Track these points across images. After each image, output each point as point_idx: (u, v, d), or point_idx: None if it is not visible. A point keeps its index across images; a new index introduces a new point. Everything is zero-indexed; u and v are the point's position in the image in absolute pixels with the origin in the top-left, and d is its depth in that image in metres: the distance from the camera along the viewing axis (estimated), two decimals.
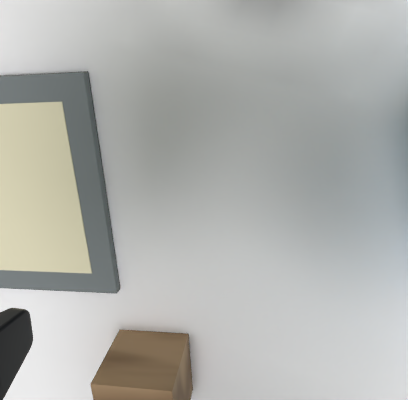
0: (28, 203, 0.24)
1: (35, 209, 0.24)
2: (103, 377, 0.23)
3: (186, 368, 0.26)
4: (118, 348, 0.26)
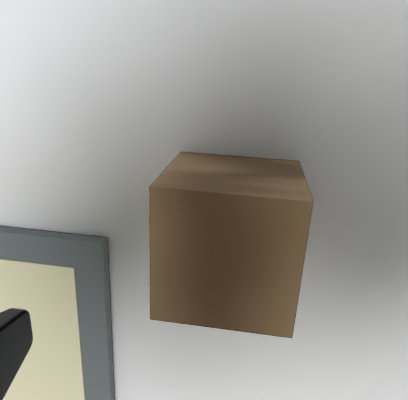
0: None
1: None
2: None
3: (220, 162, 0.15)
4: None
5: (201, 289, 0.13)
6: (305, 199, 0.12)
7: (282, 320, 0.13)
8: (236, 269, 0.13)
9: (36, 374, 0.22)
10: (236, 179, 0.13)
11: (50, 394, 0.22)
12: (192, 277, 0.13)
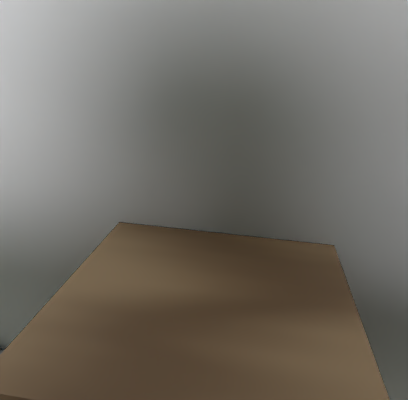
0: None
1: None
2: None
3: (183, 258, 0.08)
4: None
5: None
6: None
7: None
8: None
9: None
10: (206, 334, 0.06)
11: None
12: None
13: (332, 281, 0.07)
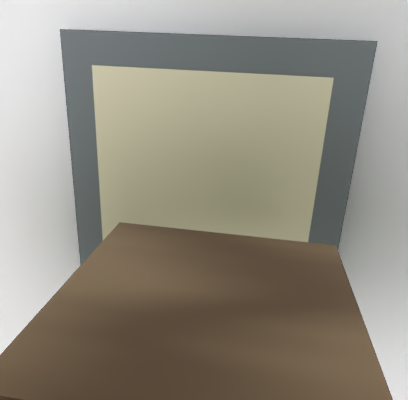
0: (217, 148, 0.18)
1: (225, 139, 0.18)
2: None
3: (184, 258, 0.08)
4: None
5: None
6: None
7: None
8: None
9: (253, 223, 0.20)
10: (208, 335, 0.06)
11: None
12: None
13: (334, 281, 0.07)
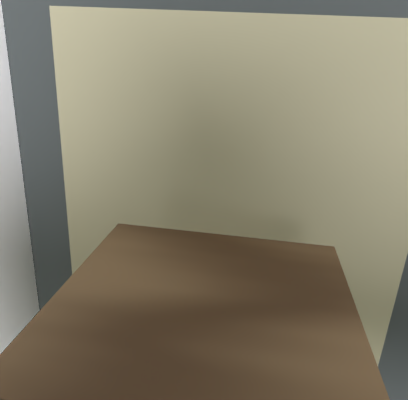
0: (256, 144, 0.11)
1: (270, 129, 0.11)
2: None
3: (183, 259, 0.08)
4: None
5: None
6: None
7: None
8: None
9: None
10: (206, 336, 0.06)
11: None
12: None
13: (333, 283, 0.07)
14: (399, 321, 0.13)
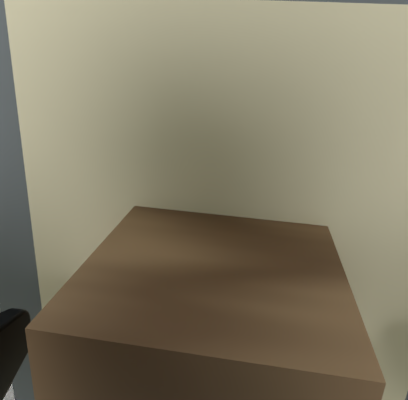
0: (257, 161, 0.09)
1: (273, 143, 0.09)
2: None
3: (194, 235, 0.09)
4: None
5: None
6: (366, 373, 0.05)
7: None
8: None
9: None
10: (217, 292, 0.07)
11: None
12: None
13: (325, 254, 0.08)
14: None
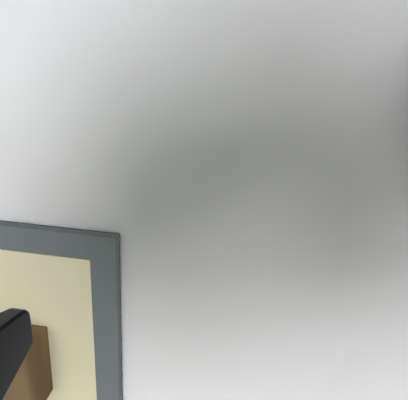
0: (16, 301, 0.23)
1: (20, 296, 0.23)
2: None
3: None
4: None
5: None
6: None
7: None
8: None
9: (53, 355, 0.24)
10: None
11: (65, 373, 0.25)
12: None
13: None
14: (101, 384, 0.25)
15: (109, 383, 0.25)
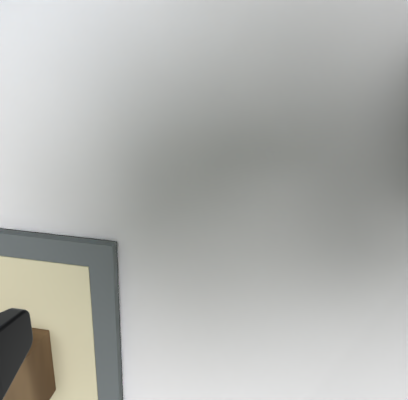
0: (19, 305, 0.24)
1: (22, 301, 0.24)
2: None
3: None
4: None
5: None
6: None
7: None
8: None
9: (55, 357, 0.25)
10: None
11: (67, 374, 0.26)
12: None
13: (31, 346, 0.23)
14: (102, 385, 0.25)
15: (110, 385, 0.25)
